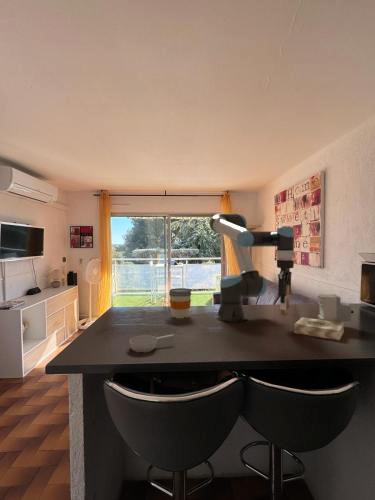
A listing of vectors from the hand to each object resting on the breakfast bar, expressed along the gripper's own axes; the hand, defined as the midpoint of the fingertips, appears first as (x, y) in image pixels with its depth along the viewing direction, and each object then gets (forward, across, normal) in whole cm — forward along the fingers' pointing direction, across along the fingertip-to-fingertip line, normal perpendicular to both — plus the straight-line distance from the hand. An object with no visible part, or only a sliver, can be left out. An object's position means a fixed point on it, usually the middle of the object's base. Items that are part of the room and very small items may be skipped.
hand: (284, 308), depth 132 cm
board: (+9, +2, -15) cm, 18 cm away
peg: (+3, 0, 0) cm, 3 cm away
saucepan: (+10, -53, +35) cm, 65 cm away
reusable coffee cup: (+11, -9, +56) cm, 57 cm away
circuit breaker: (+10, +16, -20) cm, 27 cm away
